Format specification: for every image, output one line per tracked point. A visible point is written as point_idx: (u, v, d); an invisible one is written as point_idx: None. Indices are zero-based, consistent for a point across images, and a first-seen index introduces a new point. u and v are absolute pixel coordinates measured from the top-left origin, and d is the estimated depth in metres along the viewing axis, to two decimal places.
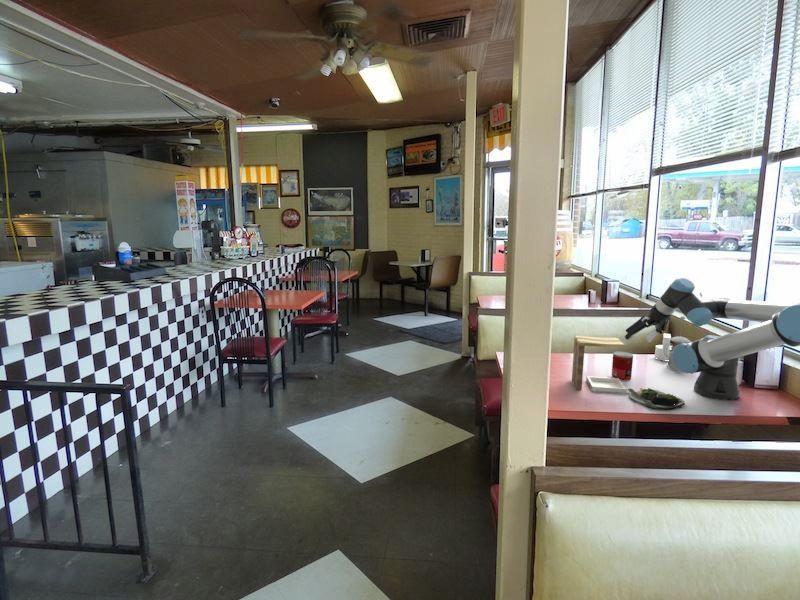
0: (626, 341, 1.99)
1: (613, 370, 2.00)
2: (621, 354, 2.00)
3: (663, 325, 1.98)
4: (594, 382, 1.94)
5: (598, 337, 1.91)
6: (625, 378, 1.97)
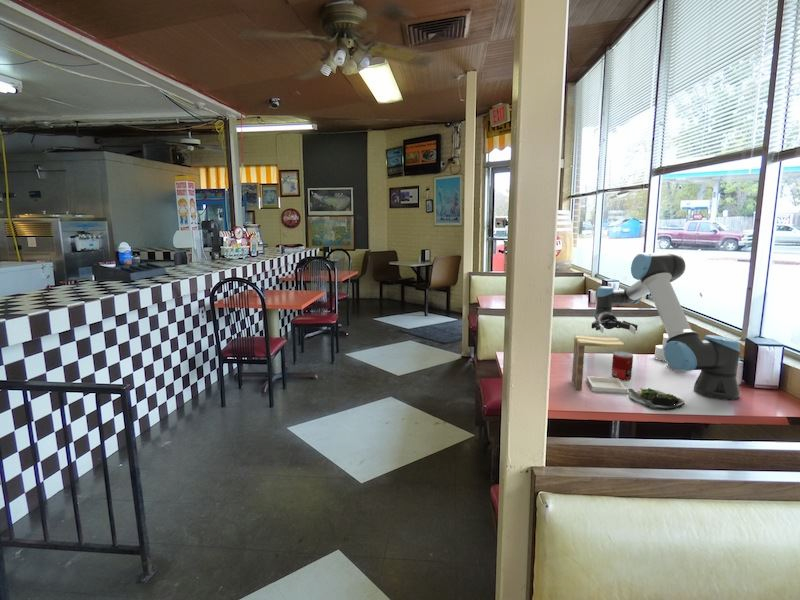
0: (601, 327, 2.11)
1: (613, 370, 2.00)
2: (621, 354, 2.00)
3: (629, 324, 2.16)
4: (594, 382, 1.94)
5: (598, 337, 1.91)
6: (625, 378, 1.97)
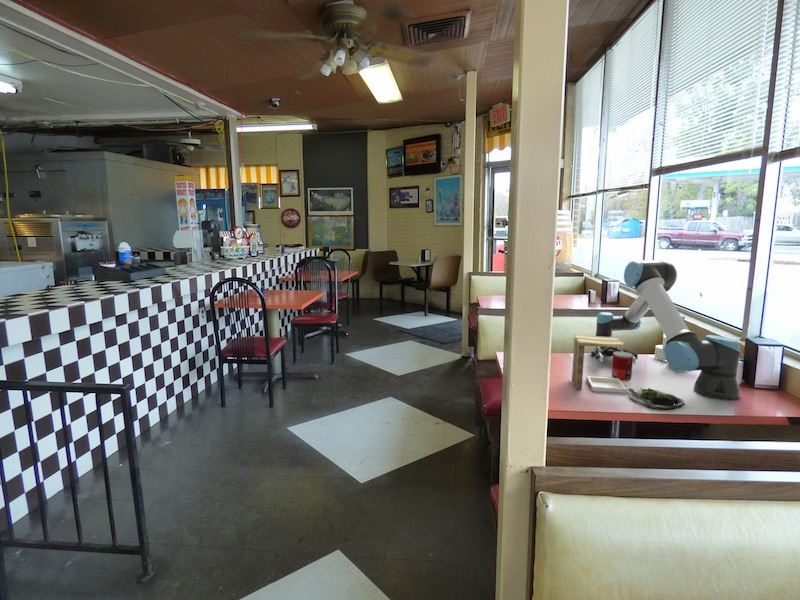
0: (600, 356, 2.08)
1: (613, 370, 2.00)
2: (621, 354, 2.00)
3: None
4: (594, 382, 1.94)
5: (598, 337, 1.91)
6: (625, 378, 1.97)
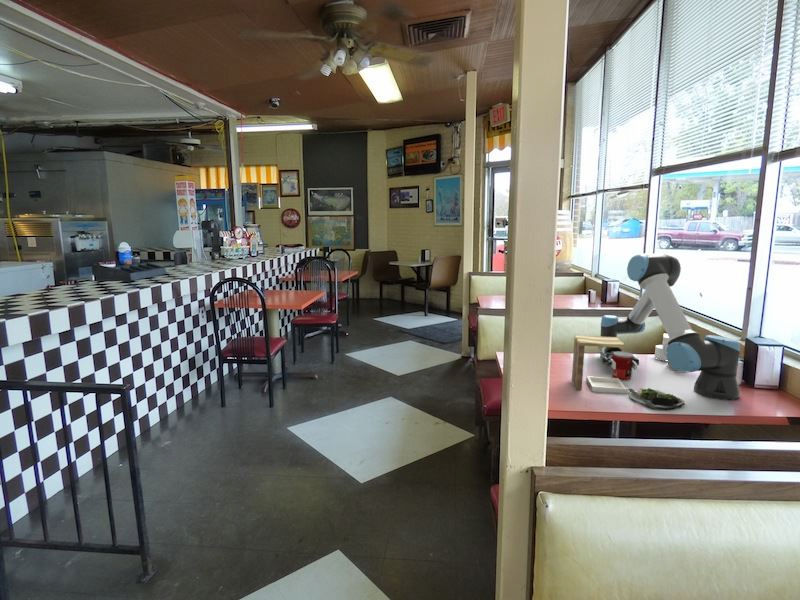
0: (612, 363, 1.98)
1: (613, 370, 2.00)
2: (621, 354, 2.00)
3: None
4: (594, 382, 1.94)
5: (598, 337, 1.91)
6: (625, 378, 1.97)
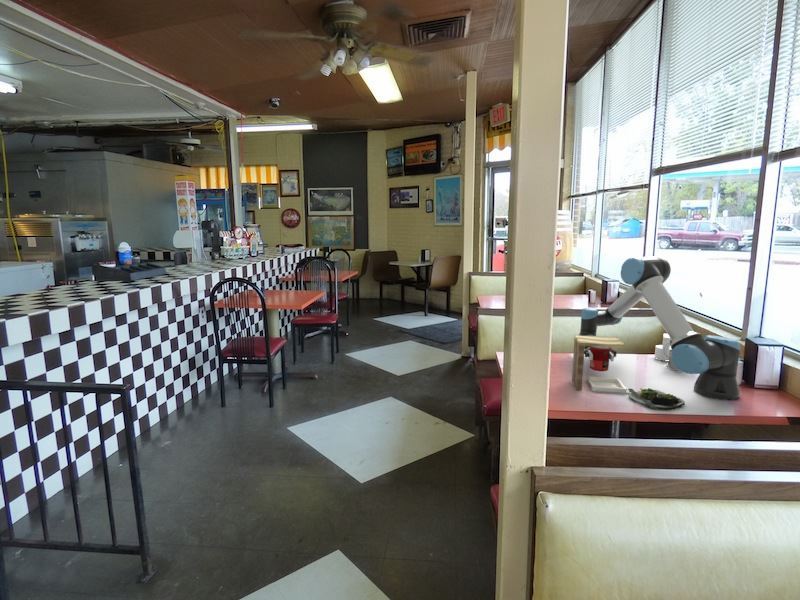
0: (590, 354, 2.00)
1: (591, 361, 2.02)
2: None
3: (610, 350, 2.06)
4: (594, 382, 1.94)
5: (598, 337, 1.91)
6: (602, 369, 1.99)
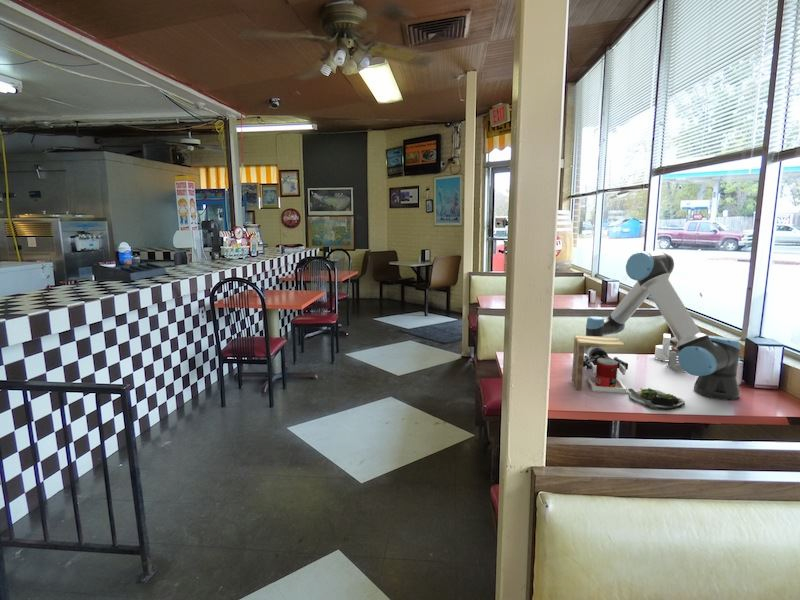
0: (592, 367, 1.88)
1: (597, 378, 1.89)
2: (605, 361, 1.89)
3: (620, 362, 1.94)
4: (594, 382, 1.94)
5: (598, 337, 1.91)
6: (609, 386, 1.86)
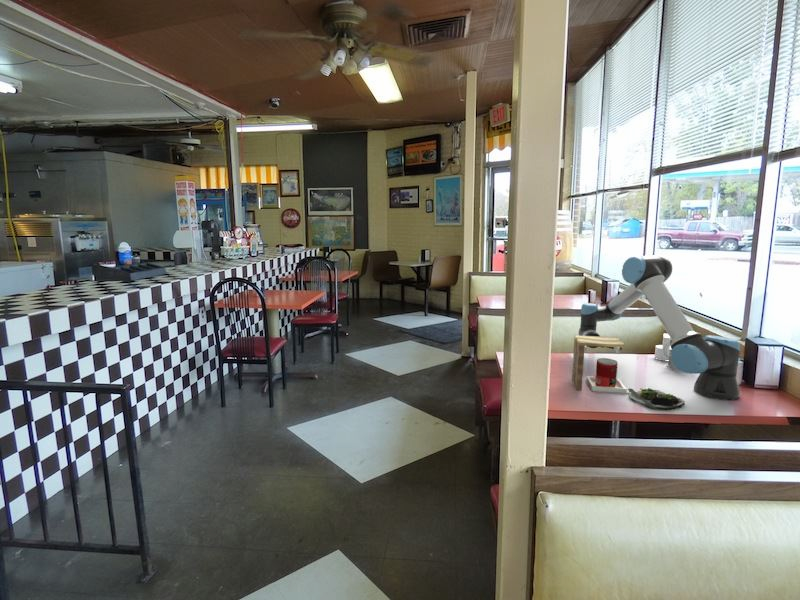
0: None
1: (597, 378, 1.89)
2: (605, 361, 1.89)
3: None
4: (594, 382, 1.94)
5: (598, 337, 1.91)
6: (609, 386, 1.86)
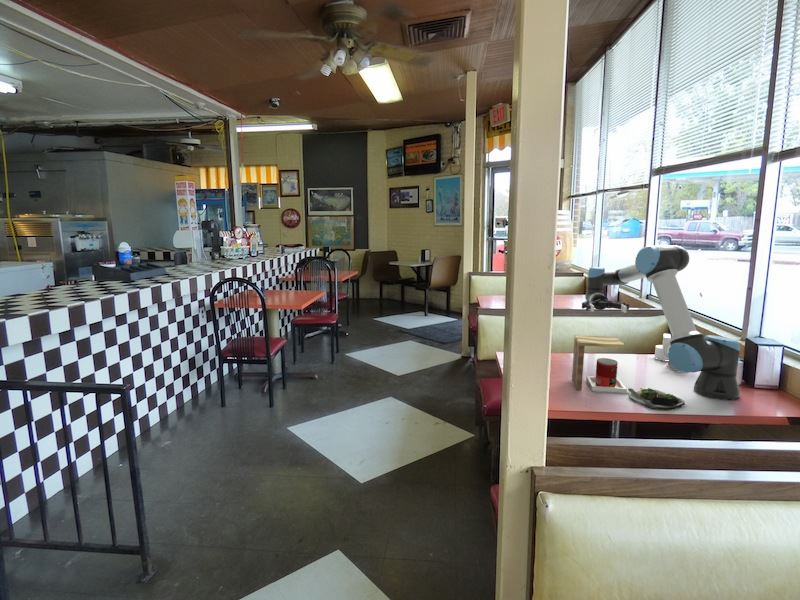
0: (591, 306, 2.04)
1: (597, 378, 1.89)
2: (605, 361, 1.89)
3: (621, 304, 2.09)
4: (594, 382, 1.94)
5: (598, 337, 1.91)
6: (609, 386, 1.86)
